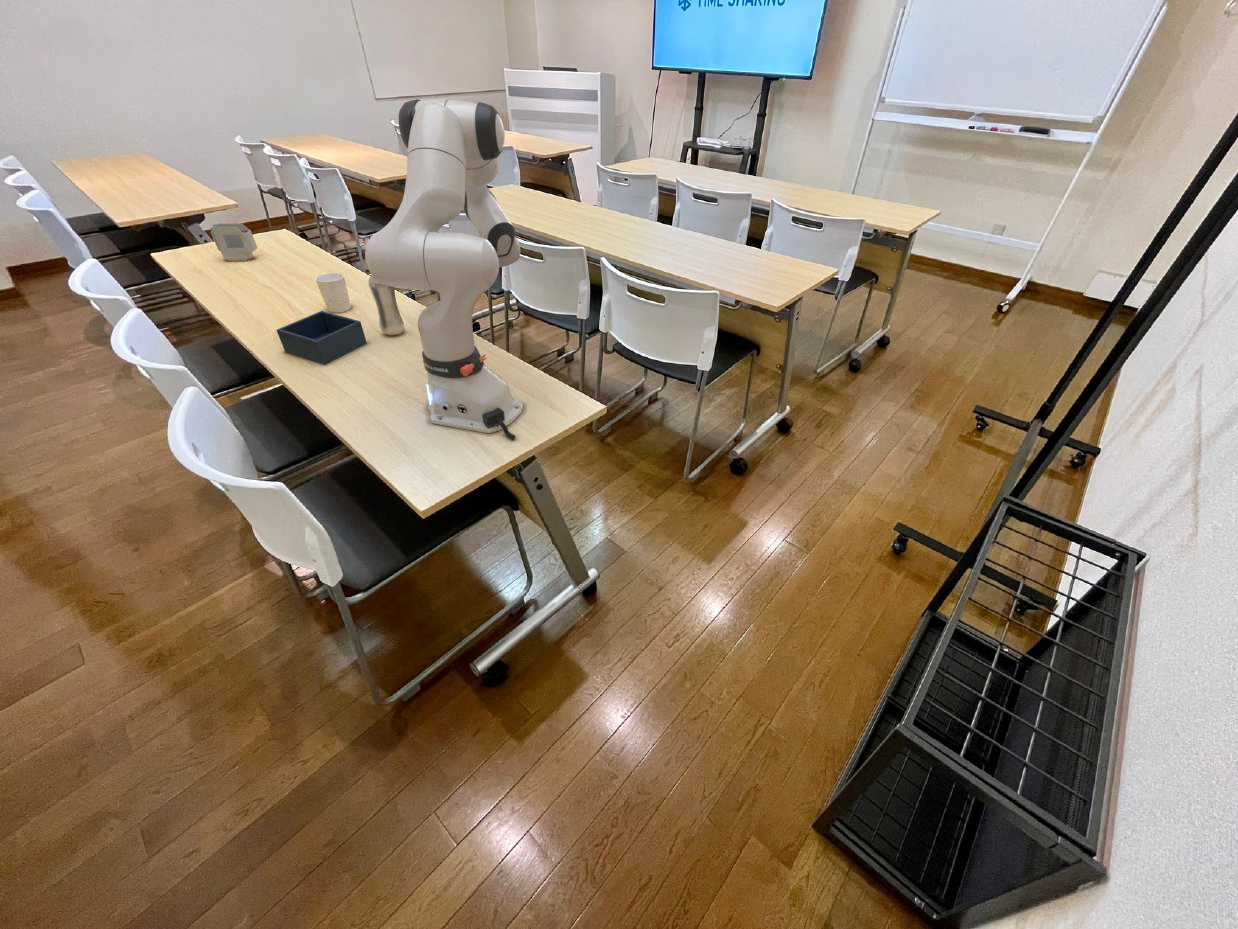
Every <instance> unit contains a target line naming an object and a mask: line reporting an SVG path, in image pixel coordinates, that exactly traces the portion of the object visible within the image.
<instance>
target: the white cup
mask: <svg viewBox="0 0 1238 929" xmlns="http://www.w3.org/2000/svg"><path fill="white" fill-rule="evenodd" d="M315 281H316V284H317V287H318V290H319V292H320V295H321V298H322V299H323V302H324V304H325V306H326V309H327V312H329V313H333V314H339V313H343V312H348V311H349V310H351V308H352V306H351V302H350V297H349V296H350V295H349V292H348V286H347V283H346V278H345V276H344V274H342V273H340V272H327V273H321V274H319V275H317V276H316V277H315Z"/></svg>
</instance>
